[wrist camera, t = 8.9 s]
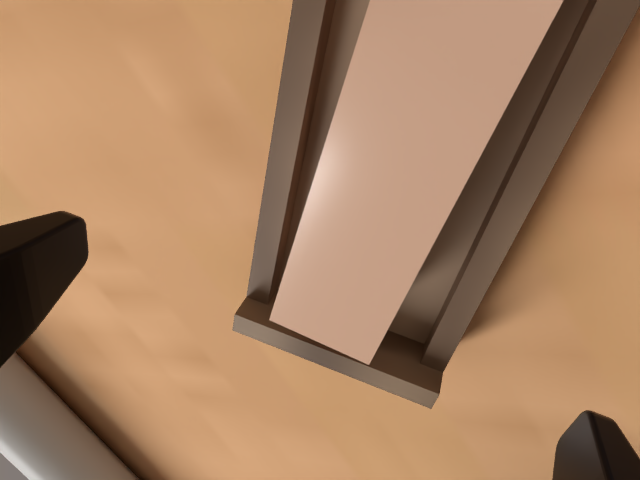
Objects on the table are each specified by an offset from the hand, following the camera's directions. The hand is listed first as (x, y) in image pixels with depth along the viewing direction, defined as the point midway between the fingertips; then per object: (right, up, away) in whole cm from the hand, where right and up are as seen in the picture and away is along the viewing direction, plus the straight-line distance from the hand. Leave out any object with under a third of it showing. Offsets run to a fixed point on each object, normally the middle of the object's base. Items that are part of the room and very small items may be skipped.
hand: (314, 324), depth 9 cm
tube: (-17, -14, +32) cm, 38 cm away
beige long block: (+3, +6, +9) cm, 11 cm away
